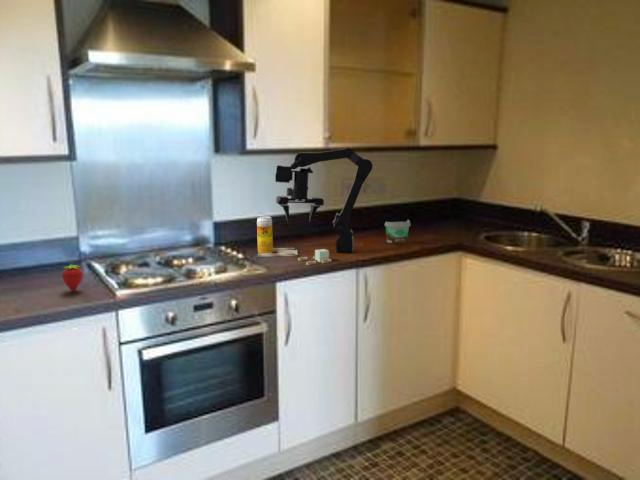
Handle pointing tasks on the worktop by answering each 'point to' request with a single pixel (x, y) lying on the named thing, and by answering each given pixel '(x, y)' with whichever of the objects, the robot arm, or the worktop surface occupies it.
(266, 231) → the yellow tall cylinder
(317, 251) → the sage cube
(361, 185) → the robot arm
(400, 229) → the food container
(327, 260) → the broken lane
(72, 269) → the strawberry
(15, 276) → the worktop surface
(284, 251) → the mat
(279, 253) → the lane
